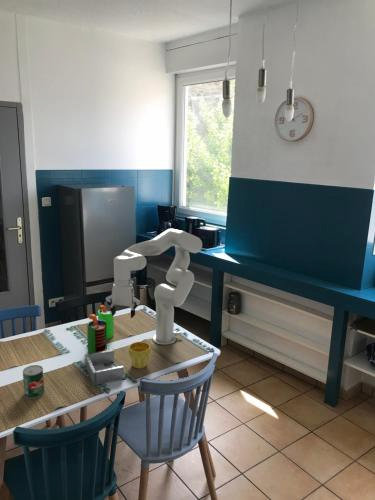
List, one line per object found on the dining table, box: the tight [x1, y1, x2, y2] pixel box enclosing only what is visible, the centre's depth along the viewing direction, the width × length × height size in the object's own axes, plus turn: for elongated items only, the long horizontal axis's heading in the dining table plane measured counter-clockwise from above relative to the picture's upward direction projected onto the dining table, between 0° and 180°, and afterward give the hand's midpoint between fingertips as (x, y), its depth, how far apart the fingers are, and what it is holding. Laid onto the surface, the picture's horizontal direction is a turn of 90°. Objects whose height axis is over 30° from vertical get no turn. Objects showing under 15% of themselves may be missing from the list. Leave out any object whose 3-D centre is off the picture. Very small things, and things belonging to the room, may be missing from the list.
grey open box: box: [84, 349, 125, 386], centre depth 186 cm, size 14×17×6 cm
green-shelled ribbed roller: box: [97, 304, 115, 339], centre depth 221 cm, size 9×8×18 cm
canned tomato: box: [22, 364, 45, 400], centre depth 168 cm, size 8×8×11 cm
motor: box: [86, 313, 108, 354], centre depth 203 cm, size 10×9×20 cm
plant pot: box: [128, 341, 152, 369], centre depth 193 cm, size 10×10×10 cm
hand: (123, 315), depth 195 cm, fingers open, 9 cm apart
